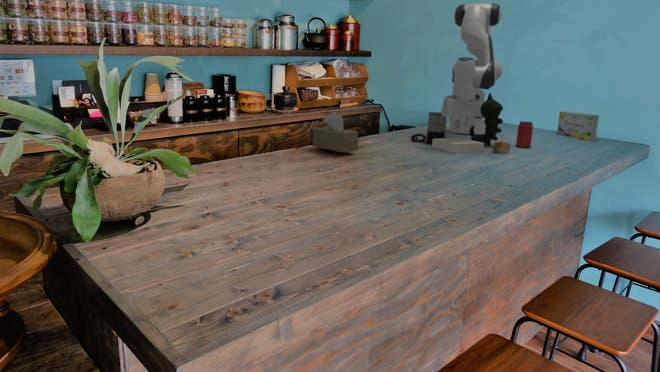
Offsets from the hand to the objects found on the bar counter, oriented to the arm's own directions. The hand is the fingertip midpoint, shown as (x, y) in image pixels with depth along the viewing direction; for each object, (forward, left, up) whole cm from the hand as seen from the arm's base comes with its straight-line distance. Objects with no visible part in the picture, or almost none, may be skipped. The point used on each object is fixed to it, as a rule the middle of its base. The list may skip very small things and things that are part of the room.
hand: (459, 126), depth 224 cm
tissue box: (-17, -53, -11) cm, 57 cm away
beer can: (0, +40, -11) cm, 41 cm away
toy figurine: (-11, +24, -11) cm, 28 cm away
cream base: (0, 0, -10) cm, 10 cm away
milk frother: (-22, 0, -11) cm, 24 cm away
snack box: (-12, +91, -11) cm, 92 cm away
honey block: (+12, +14, -10) cm, 21 cm away
